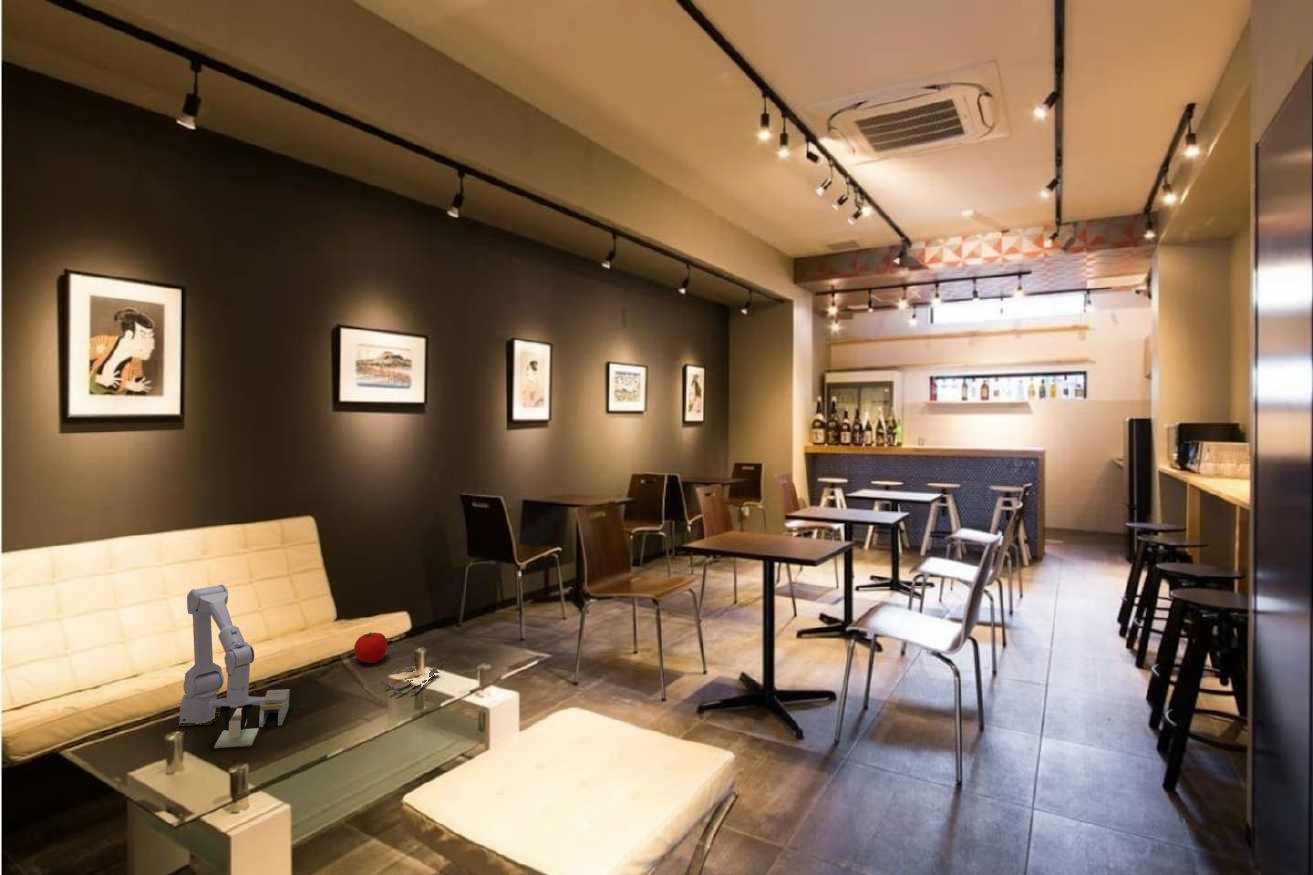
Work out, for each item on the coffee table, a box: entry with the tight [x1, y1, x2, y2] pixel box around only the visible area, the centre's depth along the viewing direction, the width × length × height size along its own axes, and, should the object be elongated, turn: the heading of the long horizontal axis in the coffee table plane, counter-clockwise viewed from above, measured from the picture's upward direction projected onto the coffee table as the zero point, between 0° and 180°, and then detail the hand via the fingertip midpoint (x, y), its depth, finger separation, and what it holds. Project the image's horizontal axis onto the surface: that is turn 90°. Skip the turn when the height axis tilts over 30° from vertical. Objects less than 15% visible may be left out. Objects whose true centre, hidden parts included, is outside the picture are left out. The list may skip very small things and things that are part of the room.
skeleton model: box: [380, 666, 440, 695], centre depth 266 cm, size 24×13×5 cm, turn 170°
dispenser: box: [258, 688, 291, 728], centre depth 233 cm, size 7×12×7 cm, turn 19°
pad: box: [213, 727, 260, 749], centre depth 218 cm, size 10×10×1 cm
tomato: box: [353, 631, 388, 664], centre depth 285 cm, size 12×14×11 cm
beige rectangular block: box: [228, 707, 248, 737], centre depth 218 cm, size 3×10×5 cm, turn 19°
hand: (235, 728), depth 216 cm, fingers closed on beige rectangular block, 3 cm apart
